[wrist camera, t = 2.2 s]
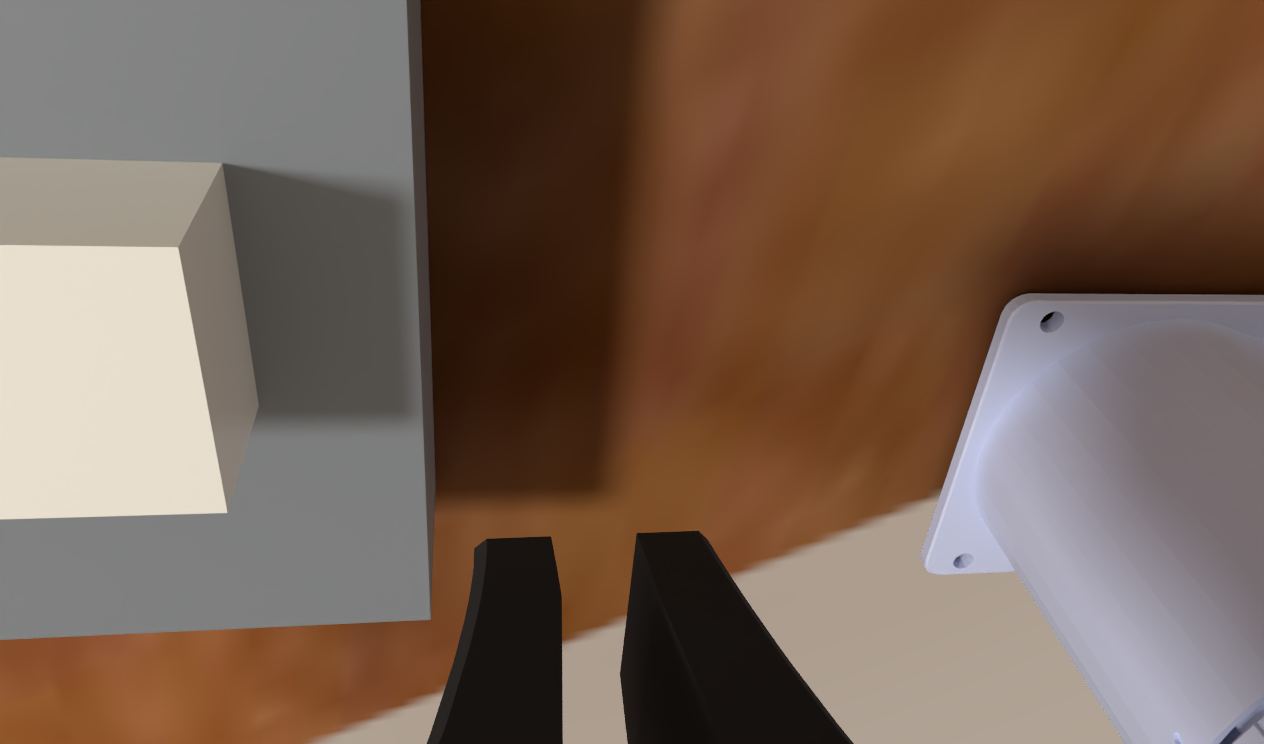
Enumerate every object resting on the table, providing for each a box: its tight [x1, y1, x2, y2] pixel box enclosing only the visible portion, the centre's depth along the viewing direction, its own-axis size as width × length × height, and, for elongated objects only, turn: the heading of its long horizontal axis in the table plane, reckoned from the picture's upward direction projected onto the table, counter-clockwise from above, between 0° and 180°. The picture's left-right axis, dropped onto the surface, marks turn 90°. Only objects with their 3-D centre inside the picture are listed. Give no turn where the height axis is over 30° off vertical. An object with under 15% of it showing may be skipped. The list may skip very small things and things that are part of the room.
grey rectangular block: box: [0, 0, 436, 640], centre depth 15 cm, size 11×14×4 cm
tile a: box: [0, 157, 259, 519], centre depth 13 cm, size 4×4×2 cm
